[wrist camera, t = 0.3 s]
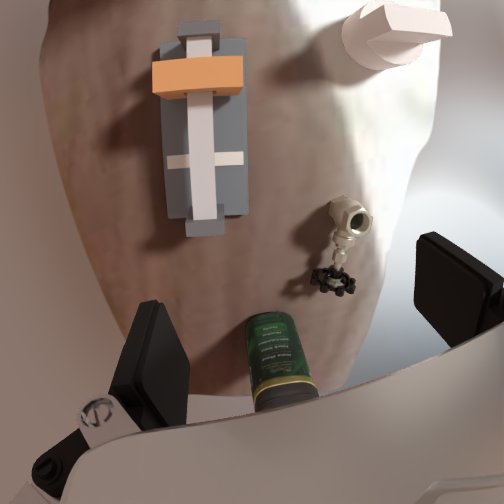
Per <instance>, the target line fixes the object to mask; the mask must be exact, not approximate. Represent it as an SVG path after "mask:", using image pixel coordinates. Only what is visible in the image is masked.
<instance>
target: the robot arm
mask: <svg viewBox="0 0 504 504" xmlns="http://www.w3.org/2000/svg"><path fill="white" fill-rule="evenodd" d="M503 282H504V278H503V277H502V276H500V275H499V274H498V273H496V272H495V271H493V270H492V269H491V268H489V267H488V266H486V265H485V264H483V263H482V262H481V261H479V260H478V259H476V258H474V257H473V256H472V255H470V254H469V253H467V252H466V251H464V250H463V249H461V248H460V247H458V246H457V245H455V244H454V243H452V242H451V241H449V240H448V239H446V238H444V237H443V236H441V235H440V234H438V233H436V232H430V233H426V234H422V235H421V236H420V238H419V239H418V240H417V243H416V271H415V287H414V305H415V307H416V309H417V310H418V311H419V312H420V313H421V314H422V315H423V317H424V318H425V319H426V320H427V321H428V322H429V323H430V324H431V325H432V327H433V328H434V329H435V330H436V331H437V332H438V333H439V334H440V336H441V337H442V338H443V339H444V340H445V341H446V343H447V344H448V345H449V346H450V347H451V349H448V350H446V351H444V352H442V353H440V354H438V355H435V356H433V357H431V358H428V359H426V360H424V361H421V362H419V363H416V364H414V365H412V366H409V367H407V368H404V369H402V370H399V371H396V372H394V373H391V374H389V375H386V376H383V377H380V378H377V379H375V380H372V381H369V382H366V383H363V384H360V385H357V386H354V387H351V388H348V389H345V390H341V391H338V392H335V393H331V394H328V395H325V396H321V397H318V398H314V399H310V400H307V401H303V402H299V403H295V404H291V405H287V406H283V407H279V408H274V409H270V410H265V411H261V412H256V413H251V414H246V415H241V416H235V417H230V418H224V419H218V420H213V421H206V422H199V423H193V424H186V417H187V416H186V415H187V399H188V386H189V372H190V365H189V360H188V358H187V356H186V353H185V351H184V349H183V347H182V345H181V342H180V340H179V338H178V336H177V333H176V331H175V329H174V327H173V324H172V322H171V320H170V317H169V315H168V313H167V310H166V308H165V306H164V304H163V303H159V302H158V301H157V300H151V301H147V302H142V303H140V305H139V307H138V310H137V313H136V315H135V318H134V321H133V323H132V326H131V329H130V332H129V335H128V337H127V340H126V343H125V345H124V347H123V350H122V353H121V355H120V358H119V361H118V364H117V367H116V371H115V373H114V377H113V380H112V383H111V386H110V389H109V392H108V394H100V395H96V396H93V397H91V398H89V399H88V400H87V401H86V402H84V403H83V404H82V406H81V407H80V408H79V411H78V413H77V419H76V420H77V423H78V426H79V428H78V429H77V430H76V431H74V432H73V433H71V434H70V435H69V436H67V437H66V438H65V439H64V440H62V441H61V442H59V443H58V444H56V445H55V446H54V447H52V448H51V449H49V450H48V451H47V452H45V453H44V454H42V455H41V456H40V457H39V458H38V459H37V460H36V462H35V463H34V465H33V468H32V479H33V482H32V483H31V484H30V483H29V482H26V483H25V485H24V486H23V487H22V488H21V490H20V491H19V492H18V493H17V494H16V496H15V497H14V498H13V499H12V501H11V502H10V503H9V504H504V288H503Z"/></svg>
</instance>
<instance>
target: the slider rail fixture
mask: <svg viewBox="0 0 504 504" xmlns="http://www.w3.org/2000/svg"><path fill="white" fill-rule="evenodd" d="M177 36H178V38H179V40H180V41H177V42H167V43H160V61H165V60H174V59H184V58H196V57H212V56H243V88H242V90H241V91H240V93H239V95H233V96H213V91H199V92H187V98H181V99H171V100H167V99H165V98H162V97H160V105H161V130H162V149H163V165H164V178H165V190H166V201H167V212H168V219H174V218H187V219H186V222H185V227H186V237H196V236H214V235H225V215H245V214H249V203H248V154H247V102H246V46H245V38H220V20H207V21H193V22H181V23H178V35H177Z"/></svg>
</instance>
